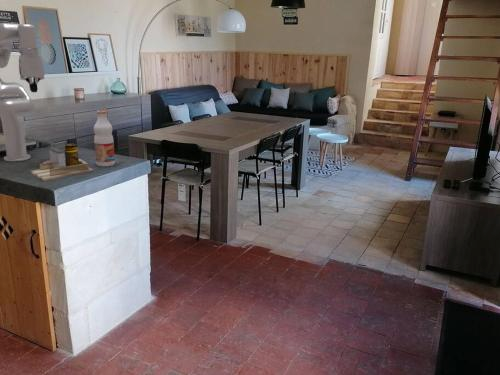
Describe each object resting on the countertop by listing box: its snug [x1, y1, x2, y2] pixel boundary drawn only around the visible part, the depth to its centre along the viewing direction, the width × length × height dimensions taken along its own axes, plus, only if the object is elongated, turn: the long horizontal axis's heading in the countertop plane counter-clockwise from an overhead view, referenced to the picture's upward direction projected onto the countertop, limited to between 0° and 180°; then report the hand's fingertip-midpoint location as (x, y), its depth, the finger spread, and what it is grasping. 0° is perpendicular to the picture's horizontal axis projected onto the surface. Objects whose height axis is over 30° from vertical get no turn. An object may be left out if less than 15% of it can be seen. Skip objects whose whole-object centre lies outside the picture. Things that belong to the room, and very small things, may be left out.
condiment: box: [64, 143, 80, 167], centre depth 211 cm, size 7×8×12 cm
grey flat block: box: [49, 147, 66, 169], centre depth 207 cm, size 10×3×10 cm, turn 45°
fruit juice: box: [93, 110, 116, 167], centre depth 222 cm, size 9×9×28 cm
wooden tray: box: [30, 159, 95, 182], centre depth 210 cm, size 16×24×4 cm, turn 135°
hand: (34, 92), depth 208 cm, fingers closed
